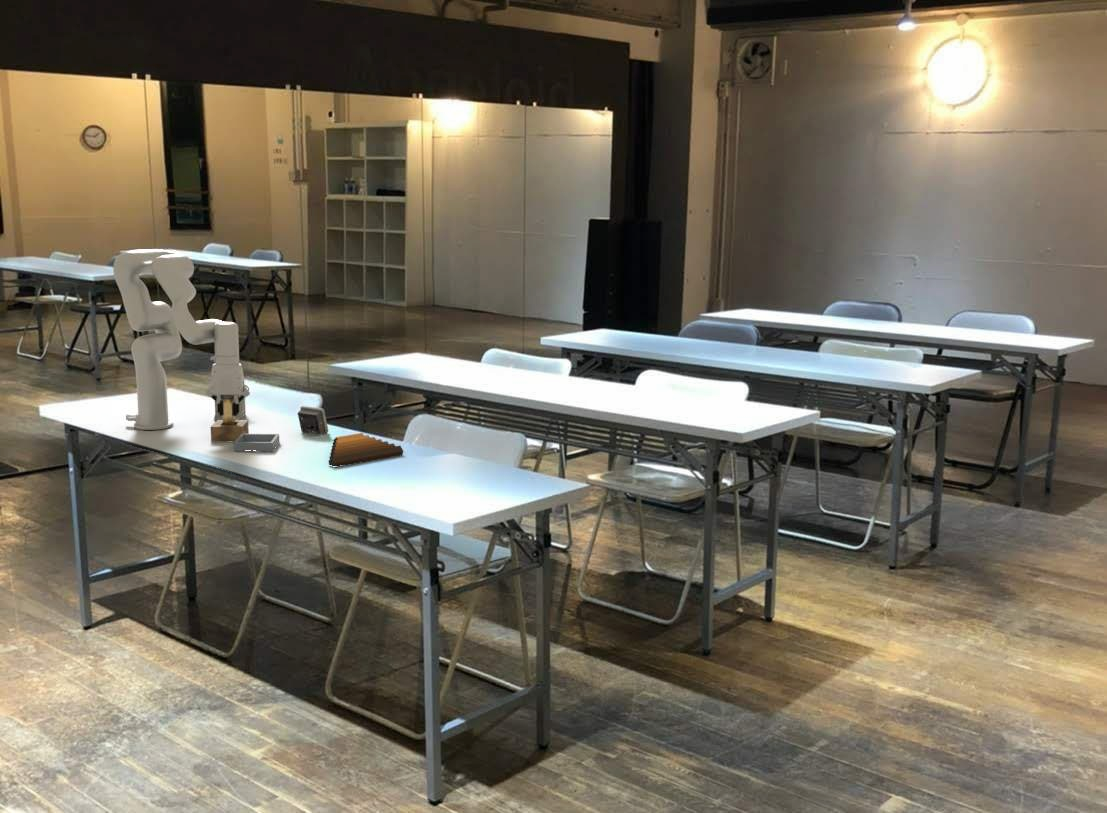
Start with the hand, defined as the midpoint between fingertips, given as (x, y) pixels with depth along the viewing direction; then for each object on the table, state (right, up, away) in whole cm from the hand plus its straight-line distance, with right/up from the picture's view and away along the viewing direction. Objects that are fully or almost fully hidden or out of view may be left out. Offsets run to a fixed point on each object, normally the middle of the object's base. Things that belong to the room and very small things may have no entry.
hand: (228, 414), depth 340 cm
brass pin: (0, -7, +2) cm, 7 cm away
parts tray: (+12, -10, -9) cm, 18 cm away
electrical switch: (+25, -7, +12) cm, 29 cm away
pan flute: (+42, -13, -13) cm, 46 cm away
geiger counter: (-7, -3, +25) cm, 26 cm away
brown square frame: (0, -8, +2) cm, 8 cm away
